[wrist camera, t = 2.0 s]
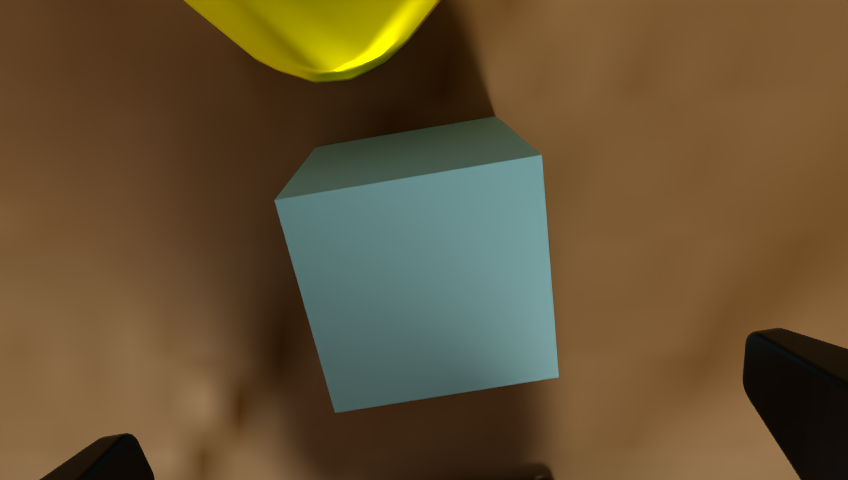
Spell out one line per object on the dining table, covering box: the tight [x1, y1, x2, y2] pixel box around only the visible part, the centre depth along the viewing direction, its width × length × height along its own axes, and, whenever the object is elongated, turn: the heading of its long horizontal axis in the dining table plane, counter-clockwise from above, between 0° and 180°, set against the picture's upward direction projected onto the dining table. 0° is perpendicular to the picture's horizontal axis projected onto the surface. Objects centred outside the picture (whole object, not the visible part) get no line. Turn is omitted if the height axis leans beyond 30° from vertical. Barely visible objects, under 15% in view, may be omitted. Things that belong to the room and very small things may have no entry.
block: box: [274, 116, 559, 413], centre depth 13 cm, size 5×5×5 cm
